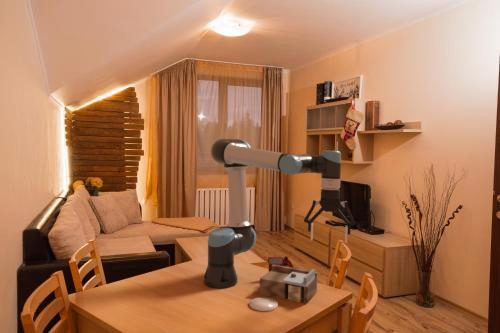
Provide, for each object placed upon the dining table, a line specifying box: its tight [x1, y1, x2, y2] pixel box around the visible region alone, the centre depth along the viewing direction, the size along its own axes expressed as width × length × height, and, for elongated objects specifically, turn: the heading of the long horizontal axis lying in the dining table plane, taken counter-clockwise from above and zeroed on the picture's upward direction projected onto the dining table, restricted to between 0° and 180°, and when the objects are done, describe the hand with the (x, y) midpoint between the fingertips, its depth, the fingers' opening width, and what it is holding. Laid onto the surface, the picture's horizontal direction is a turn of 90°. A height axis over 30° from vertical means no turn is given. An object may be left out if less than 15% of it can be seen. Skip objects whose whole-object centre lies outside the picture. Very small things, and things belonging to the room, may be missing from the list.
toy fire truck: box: [267, 255, 295, 272], centre depth 171 cm, size 7×12×10 cm, turn 98°
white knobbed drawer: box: [283, 268, 316, 287], centre depth 151 cm, size 10×12×4 cm
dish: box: [249, 297, 279, 312], centre depth 142 cm, size 11×11×1 cm
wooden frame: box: [259, 265, 319, 304], centre depth 154 cm, size 20×14×8 cm
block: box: [287, 284, 304, 303], centre depth 148 cm, size 5×5×6 cm
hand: (328, 241), depth 149 cm, fingers open, 13 cm apart
